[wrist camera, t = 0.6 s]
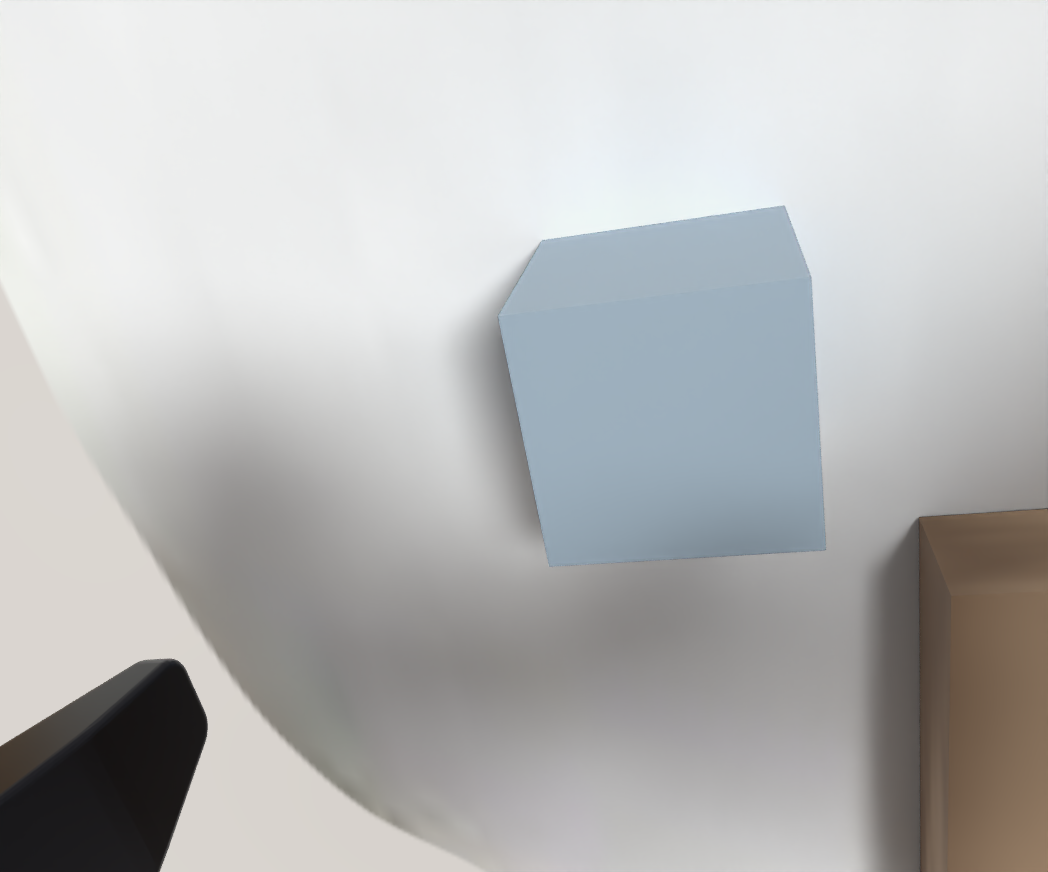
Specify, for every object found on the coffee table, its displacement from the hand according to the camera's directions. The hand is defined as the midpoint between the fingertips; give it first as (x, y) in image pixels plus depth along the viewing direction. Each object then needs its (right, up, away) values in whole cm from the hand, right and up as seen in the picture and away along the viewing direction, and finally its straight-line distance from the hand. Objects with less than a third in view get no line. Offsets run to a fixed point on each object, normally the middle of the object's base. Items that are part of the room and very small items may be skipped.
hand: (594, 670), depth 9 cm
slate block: (+3, +5, +11) cm, 12 cm away
